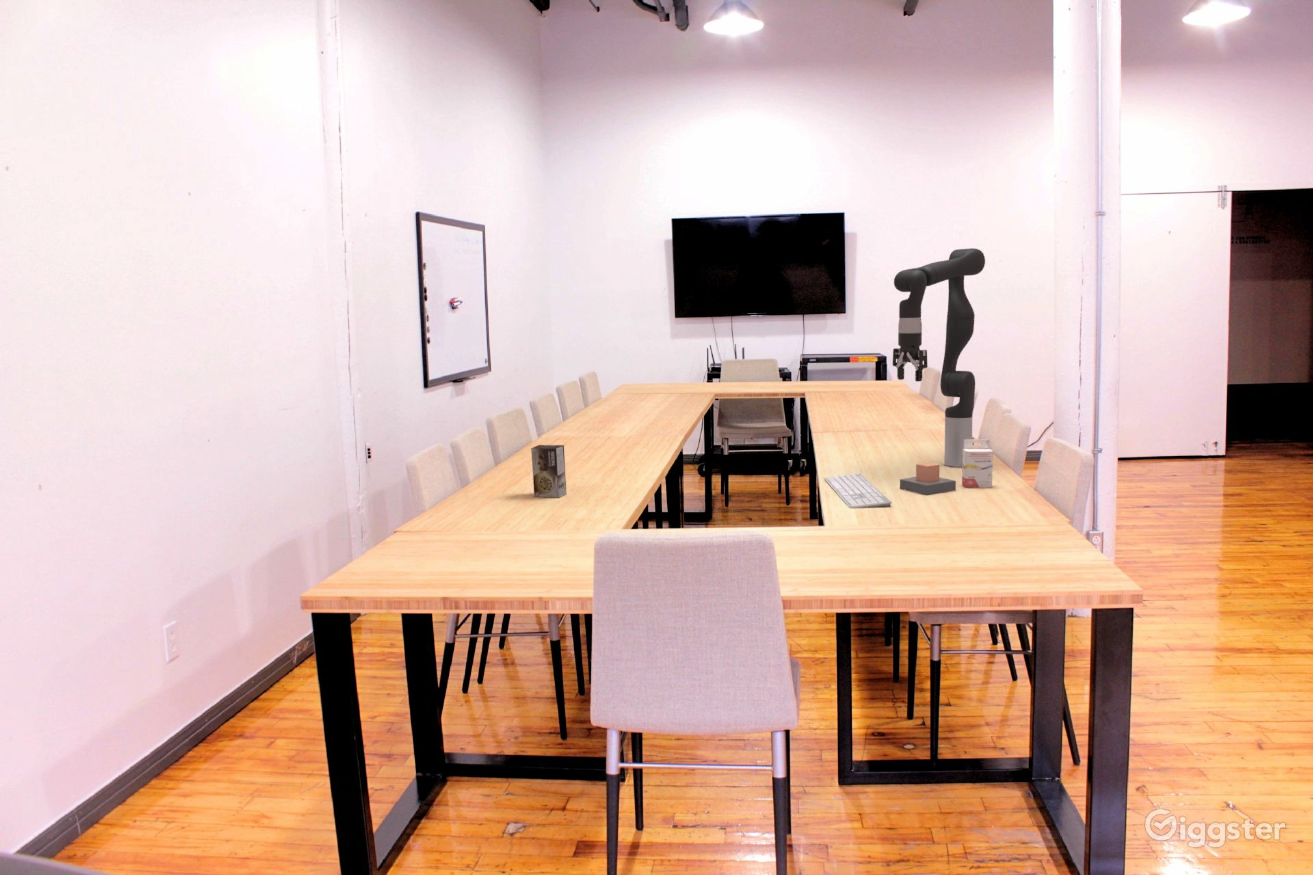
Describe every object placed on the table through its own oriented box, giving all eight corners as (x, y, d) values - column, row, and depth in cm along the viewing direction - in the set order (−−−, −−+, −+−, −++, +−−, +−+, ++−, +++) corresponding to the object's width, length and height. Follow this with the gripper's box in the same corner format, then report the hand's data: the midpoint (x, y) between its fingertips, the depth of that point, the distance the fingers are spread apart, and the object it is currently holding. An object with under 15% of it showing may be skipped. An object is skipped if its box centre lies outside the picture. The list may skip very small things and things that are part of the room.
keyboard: (823, 481, 340) (823, 474, 339) (860, 479, 340) (860, 472, 340) (849, 510, 296) (849, 502, 296) (892, 508, 296) (892, 500, 296)
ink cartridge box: (964, 487, 319) (965, 441, 317) (961, 484, 324) (962, 439, 322) (992, 487, 319) (993, 441, 316) (989, 484, 323) (990, 438, 321)
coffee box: (567, 493, 329) (565, 444, 326) (559, 498, 323) (556, 448, 320) (541, 492, 332) (539, 444, 329) (533, 496, 326) (530, 447, 323)
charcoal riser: (928, 484, 327) (928, 474, 326) (955, 490, 316) (955, 480, 316) (899, 488, 321) (899, 479, 321) (926, 495, 311) (926, 485, 310)
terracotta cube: (928, 477, 321) (928, 462, 321) (939, 480, 317) (939, 464, 316) (916, 479, 319) (916, 464, 318) (927, 482, 315) (927, 466, 314)
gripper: (933, 331, 330) (933, 381, 333) (904, 330, 343) (903, 378, 345) (916, 332, 327) (915, 382, 329) (886, 331, 339) (886, 379, 342)
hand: (909, 380), depth 337 cm, fingers open, 8 cm apart
